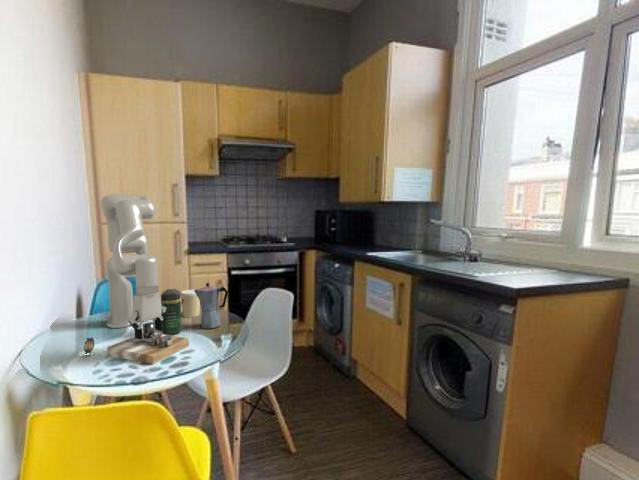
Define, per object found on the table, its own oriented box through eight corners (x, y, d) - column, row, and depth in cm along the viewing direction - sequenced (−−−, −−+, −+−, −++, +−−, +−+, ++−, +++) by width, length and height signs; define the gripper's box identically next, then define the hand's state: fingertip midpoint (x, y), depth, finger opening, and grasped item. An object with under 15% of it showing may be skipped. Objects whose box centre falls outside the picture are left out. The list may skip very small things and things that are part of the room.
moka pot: (197, 323, 171) (196, 281, 169) (230, 322, 172) (229, 280, 170) (191, 329, 161) (190, 285, 159) (227, 329, 163) (226, 285, 161)
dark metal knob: (138, 341, 137) (138, 324, 137) (147, 338, 141) (146, 321, 140) (166, 346, 133) (165, 328, 132) (174, 342, 136) (173, 325, 136)
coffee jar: (181, 334, 155) (180, 292, 153) (161, 336, 153) (159, 293, 151) (182, 327, 164) (180, 287, 163) (163, 329, 162) (161, 288, 160)
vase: (84, 351, 137) (85, 336, 137) (99, 352, 138) (100, 336, 138) (76, 357, 132) (77, 341, 131) (93, 357, 133) (93, 341, 132)
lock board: (107, 355, 134) (106, 338, 133) (146, 338, 151) (146, 323, 150) (153, 364, 126) (152, 346, 126) (188, 345, 143) (188, 330, 142)
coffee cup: (184, 312, 187) (183, 289, 186) (202, 312, 188) (202, 289, 187) (179, 318, 178) (178, 294, 177) (198, 317, 179) (198, 293, 178)
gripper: (157, 284, 146) (158, 326, 147) (119, 294, 129) (122, 341, 131) (172, 285, 143) (173, 328, 145) (135, 296, 127) (137, 343, 128)
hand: (149, 334), depth 138 cm, fingers open, 9 cm apart
